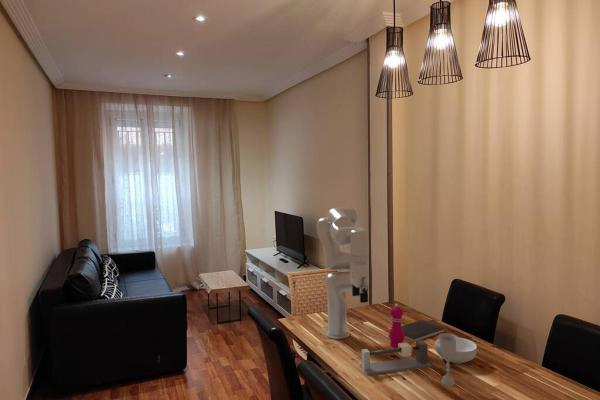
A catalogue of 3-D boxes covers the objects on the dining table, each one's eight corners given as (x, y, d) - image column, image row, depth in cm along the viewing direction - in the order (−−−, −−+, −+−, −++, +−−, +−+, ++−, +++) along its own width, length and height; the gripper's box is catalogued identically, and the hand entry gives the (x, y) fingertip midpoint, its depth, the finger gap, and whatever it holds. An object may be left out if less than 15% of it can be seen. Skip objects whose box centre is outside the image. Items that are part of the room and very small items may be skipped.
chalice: (435, 378, 165) (435, 333, 164) (452, 377, 165) (452, 332, 164) (443, 387, 158) (443, 341, 156) (460, 386, 158) (460, 340, 157)
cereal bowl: (475, 353, 186) (475, 338, 186) (478, 370, 170) (478, 353, 170) (435, 349, 192) (435, 334, 191) (434, 365, 176) (434, 349, 175)
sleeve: (398, 352, 177) (398, 343, 177) (406, 351, 178) (406, 342, 178) (402, 356, 174) (402, 347, 173) (411, 355, 174) (411, 346, 174)
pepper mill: (405, 349, 193) (404, 306, 191) (389, 348, 194) (388, 305, 193) (404, 342, 200) (404, 301, 198) (389, 341, 201) (388, 301, 200)
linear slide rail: (359, 366, 176) (359, 345, 176) (421, 359, 182) (421, 338, 181) (366, 375, 168) (366, 353, 168) (430, 367, 174) (430, 345, 174)
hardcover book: (445, 332, 212) (445, 328, 212) (413, 343, 200) (413, 338, 200) (420, 323, 226) (420, 319, 226) (389, 333, 213) (389, 328, 213)
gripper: (344, 255, 183) (345, 293, 184) (357, 263, 166) (358, 305, 168) (360, 254, 185) (361, 292, 186) (375, 262, 168) (376, 304, 169)
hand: (359, 298), depth 177 cm, fingers open, 9 cm apart
